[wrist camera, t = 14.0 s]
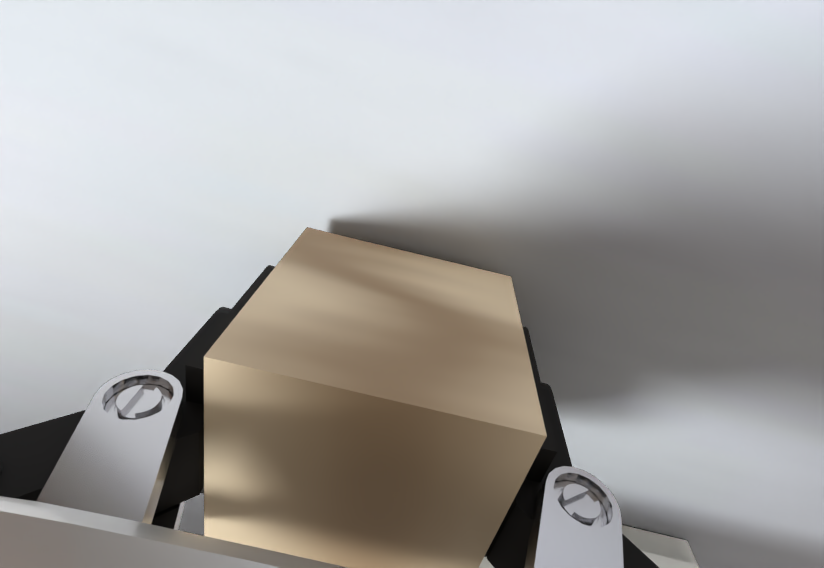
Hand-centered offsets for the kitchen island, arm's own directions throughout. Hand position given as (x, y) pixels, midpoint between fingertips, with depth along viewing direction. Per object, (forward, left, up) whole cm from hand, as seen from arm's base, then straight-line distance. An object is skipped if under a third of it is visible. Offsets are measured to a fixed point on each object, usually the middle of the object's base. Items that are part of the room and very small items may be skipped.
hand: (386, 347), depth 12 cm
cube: (0, 0, -1) cm, 1 cm away
